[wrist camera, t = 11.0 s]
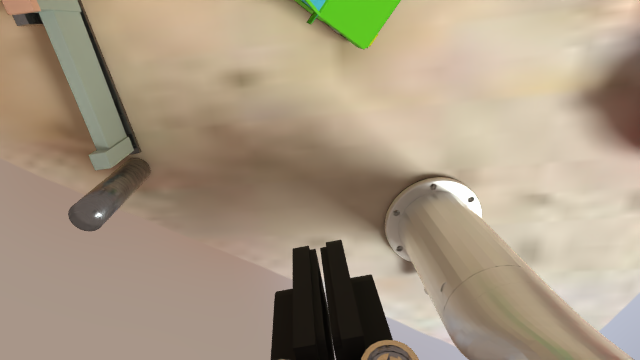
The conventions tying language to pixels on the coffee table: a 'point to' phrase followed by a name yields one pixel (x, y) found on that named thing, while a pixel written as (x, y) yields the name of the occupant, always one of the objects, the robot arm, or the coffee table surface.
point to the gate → (81, 75)
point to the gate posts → (124, 179)
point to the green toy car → (352, 17)
